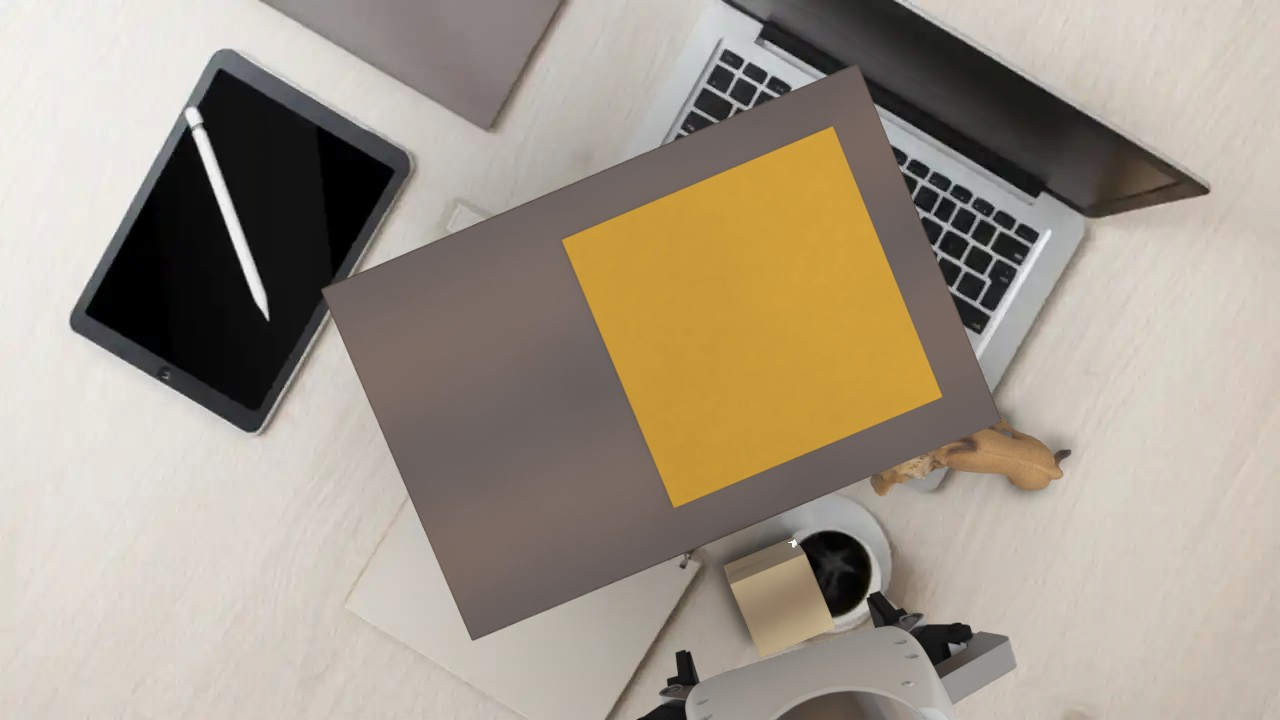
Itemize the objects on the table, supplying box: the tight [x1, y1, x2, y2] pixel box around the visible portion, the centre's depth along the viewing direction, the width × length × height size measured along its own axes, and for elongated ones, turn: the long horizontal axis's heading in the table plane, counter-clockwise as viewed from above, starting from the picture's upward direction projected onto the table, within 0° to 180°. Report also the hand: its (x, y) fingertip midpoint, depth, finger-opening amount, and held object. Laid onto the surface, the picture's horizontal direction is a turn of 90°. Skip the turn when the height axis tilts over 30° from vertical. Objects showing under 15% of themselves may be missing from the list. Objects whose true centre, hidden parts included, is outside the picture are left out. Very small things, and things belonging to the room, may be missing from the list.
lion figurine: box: [869, 417, 1072, 497], centre depth 67 cm, size 15×5×9 cm, turn 87°
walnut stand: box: [320, 63, 1002, 642], centre depth 58 cm, size 16×24×26 cm, turn 113°
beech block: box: [723, 536, 837, 659], centre depth 70 cm, size 5×5×5 cm
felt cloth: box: [562, 126, 942, 508], centre depth 45 cm, size 12×12×1 cm
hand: (785, 650), depth 53 cm, fingers open, 9 cm apart
